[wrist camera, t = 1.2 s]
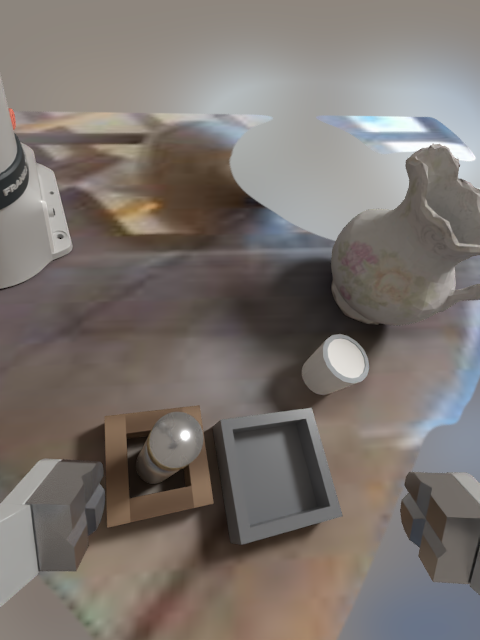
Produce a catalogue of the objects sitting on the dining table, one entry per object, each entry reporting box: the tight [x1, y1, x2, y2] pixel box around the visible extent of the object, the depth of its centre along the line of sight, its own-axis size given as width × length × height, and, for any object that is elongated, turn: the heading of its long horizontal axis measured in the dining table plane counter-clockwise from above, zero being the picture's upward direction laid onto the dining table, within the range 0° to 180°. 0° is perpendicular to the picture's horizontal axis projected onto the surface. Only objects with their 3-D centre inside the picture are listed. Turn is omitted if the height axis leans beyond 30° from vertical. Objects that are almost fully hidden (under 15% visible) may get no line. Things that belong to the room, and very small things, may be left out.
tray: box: [213, 408, 343, 545], centre depth 40 cm, size 12×12×4 cm
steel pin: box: [136, 412, 203, 484], centre depth 32 cm, size 4×4×14 cm
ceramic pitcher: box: [331, 144, 480, 326], centre depth 51 cm, size 22×20×25 cm
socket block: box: [105, 405, 214, 528], centre depth 36 cm, size 10×10×3 cm
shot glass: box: [302, 334, 369, 395], centre depth 47 cm, size 7×7×7 cm
